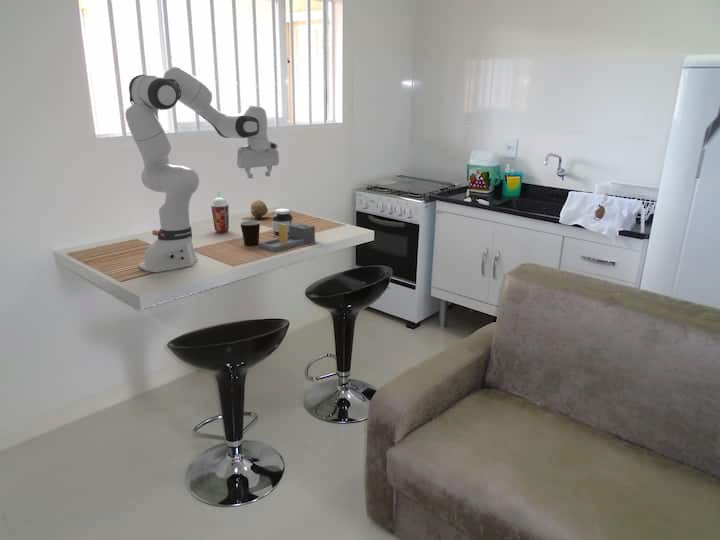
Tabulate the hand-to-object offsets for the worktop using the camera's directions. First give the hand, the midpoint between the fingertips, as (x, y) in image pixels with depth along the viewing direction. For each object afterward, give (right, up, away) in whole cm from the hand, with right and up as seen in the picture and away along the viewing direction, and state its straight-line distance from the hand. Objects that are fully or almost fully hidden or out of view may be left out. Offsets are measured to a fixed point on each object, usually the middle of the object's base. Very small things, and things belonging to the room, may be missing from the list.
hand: (259, 177), depth 236 cm
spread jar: (+6, -23, +28) cm, 36 cm away
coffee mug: (-4, -29, +9) cm, 31 cm away
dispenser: (+12, -29, +7) cm, 32 cm away
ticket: (+10, -29, +5) cm, 31 cm away
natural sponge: (-10, -13, +57) cm, 59 cm away
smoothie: (-24, -22, +29) cm, 44 cm away
